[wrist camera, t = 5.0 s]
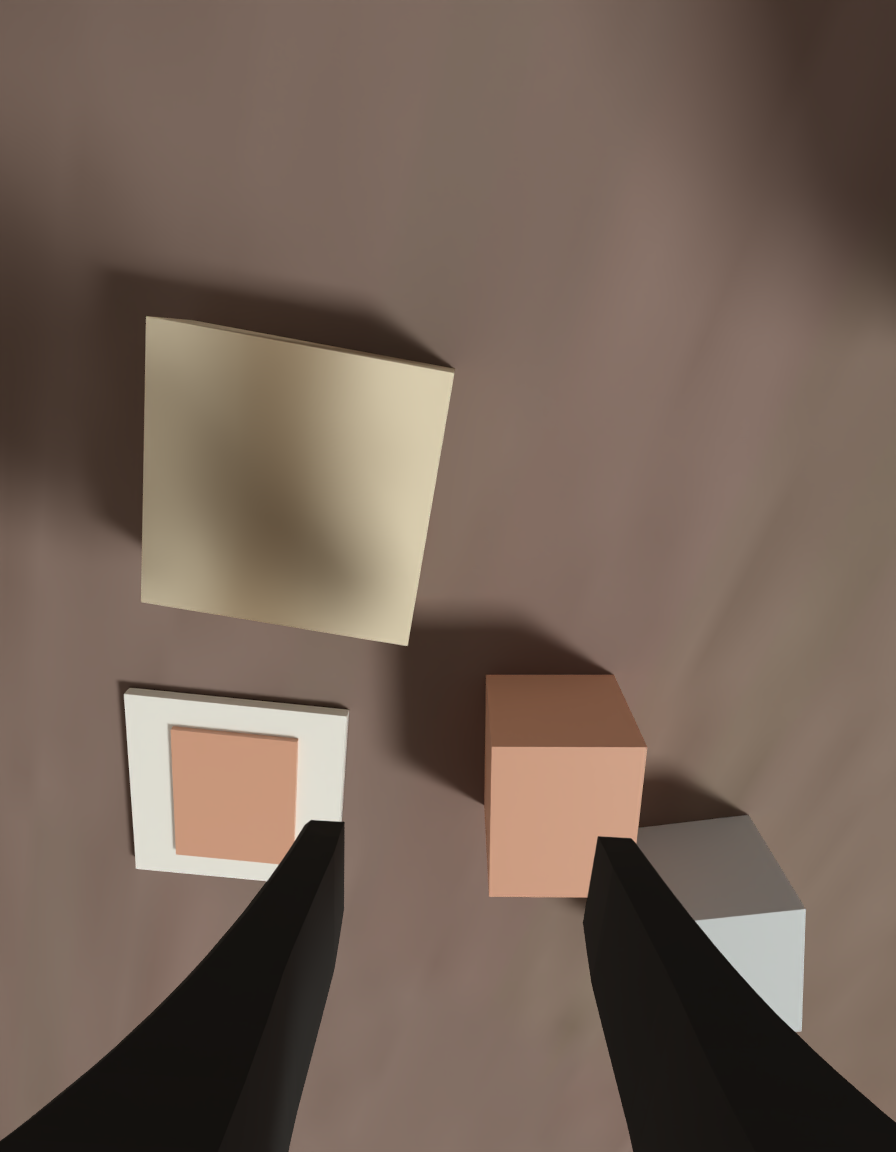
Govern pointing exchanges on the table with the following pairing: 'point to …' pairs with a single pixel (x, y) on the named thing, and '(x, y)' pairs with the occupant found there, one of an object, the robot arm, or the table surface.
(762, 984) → the grey block
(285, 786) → the tile
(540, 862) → the terracotta block
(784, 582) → the table surface
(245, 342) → the maple block
